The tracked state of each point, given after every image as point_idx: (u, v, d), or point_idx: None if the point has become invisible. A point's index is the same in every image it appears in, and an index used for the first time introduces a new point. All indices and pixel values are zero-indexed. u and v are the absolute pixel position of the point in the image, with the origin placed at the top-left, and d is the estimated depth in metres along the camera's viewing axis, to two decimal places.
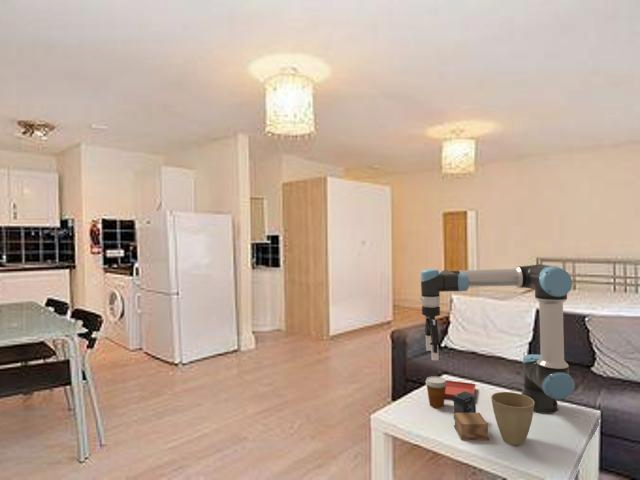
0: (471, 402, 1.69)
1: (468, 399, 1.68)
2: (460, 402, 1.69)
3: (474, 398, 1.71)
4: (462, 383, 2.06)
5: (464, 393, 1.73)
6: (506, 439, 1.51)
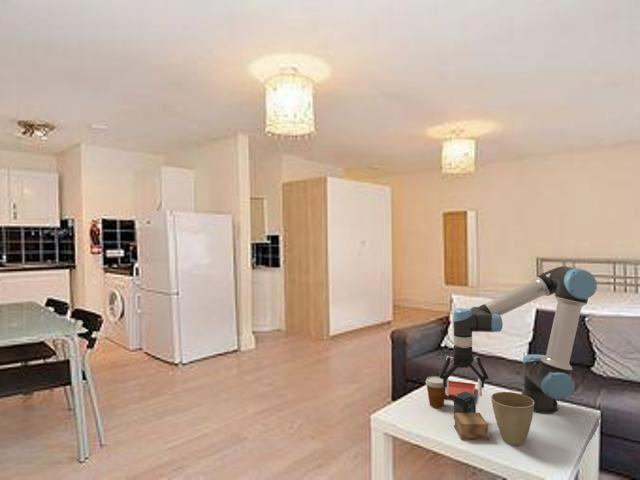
0: (471, 402, 1.69)
1: (468, 399, 1.68)
2: (460, 402, 1.69)
3: (474, 398, 1.71)
4: (462, 383, 2.06)
5: (464, 393, 1.73)
6: (506, 439, 1.51)
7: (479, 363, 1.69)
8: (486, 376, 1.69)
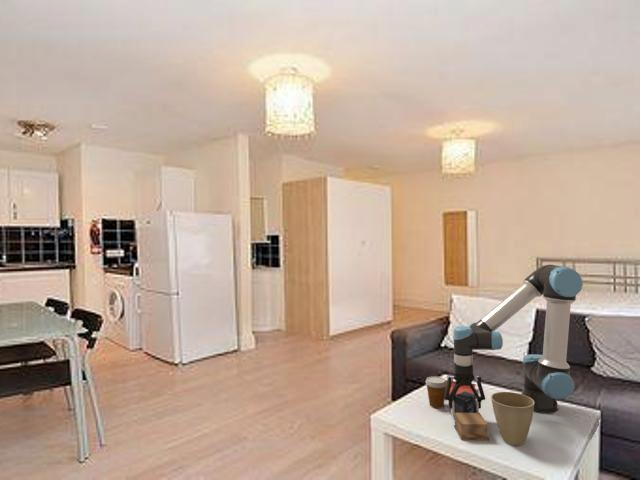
0: (471, 402, 1.69)
1: (468, 399, 1.68)
2: (460, 402, 1.69)
3: (474, 398, 1.71)
4: None
5: (464, 393, 1.73)
6: (506, 439, 1.51)
7: (479, 383, 1.70)
8: (483, 397, 1.69)
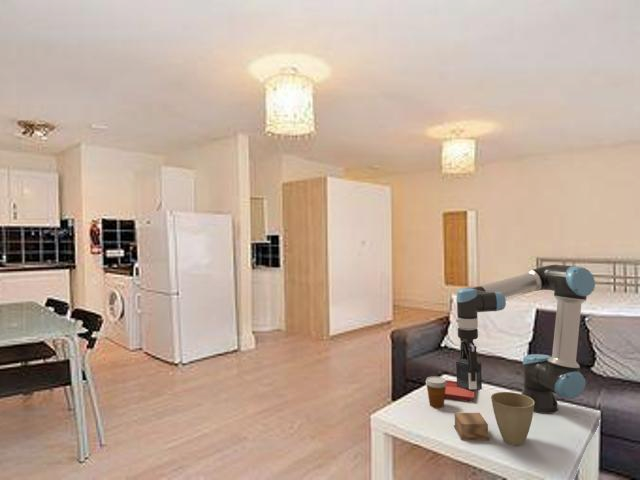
0: None
1: None
2: (478, 368, 1.57)
3: None
4: None
5: (464, 361, 1.60)
6: (506, 439, 1.51)
7: None
8: None
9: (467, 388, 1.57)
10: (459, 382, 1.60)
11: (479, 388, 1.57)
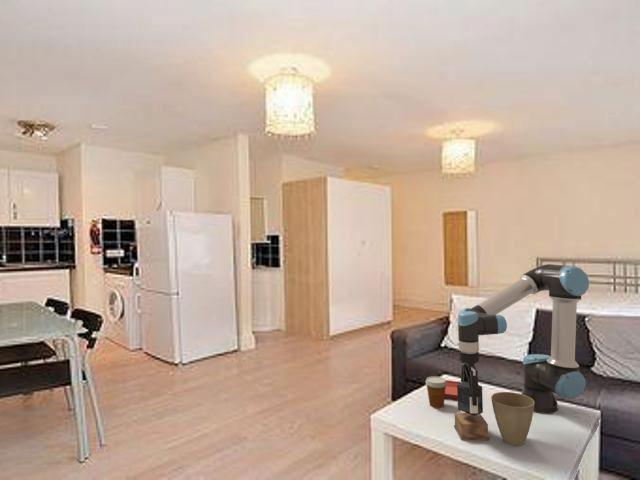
0: None
1: None
2: (479, 392, 1.56)
3: None
4: None
5: (465, 384, 1.60)
6: (506, 439, 1.51)
7: None
8: None
9: (468, 412, 1.57)
10: (460, 405, 1.60)
11: (480, 412, 1.57)
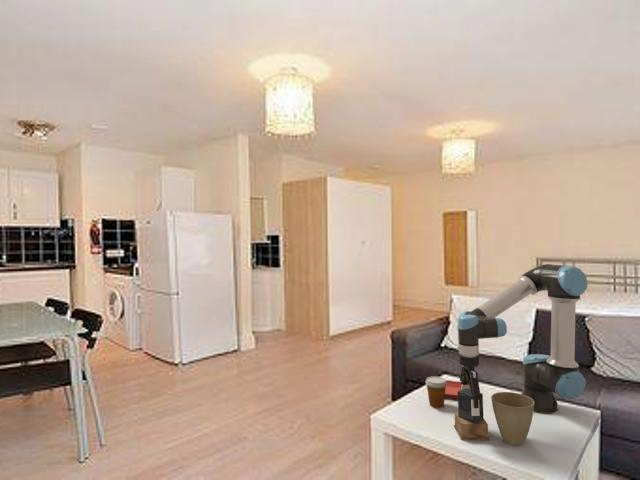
0: None
1: None
2: None
3: None
4: None
5: (465, 391, 1.60)
6: (506, 439, 1.51)
7: None
8: None
9: (469, 419, 1.57)
10: (460, 413, 1.60)
11: (481, 419, 1.57)
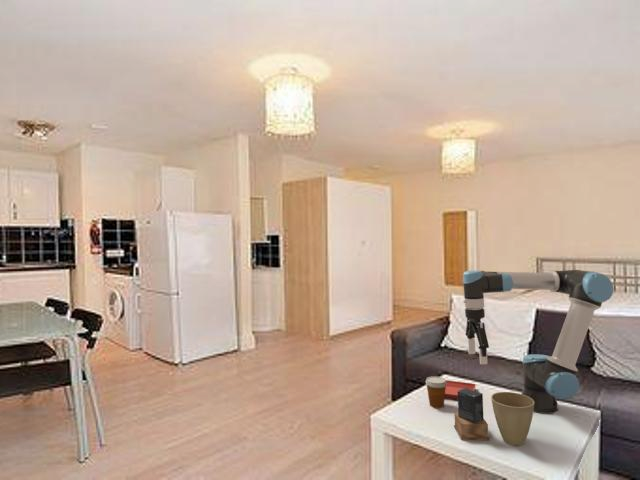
0: None
1: None
2: (479, 399, 1.56)
3: None
4: (462, 383, 2.06)
5: (465, 391, 1.60)
6: (506, 439, 1.51)
7: None
8: None
9: (469, 419, 1.57)
10: (460, 413, 1.60)
11: (481, 419, 1.57)
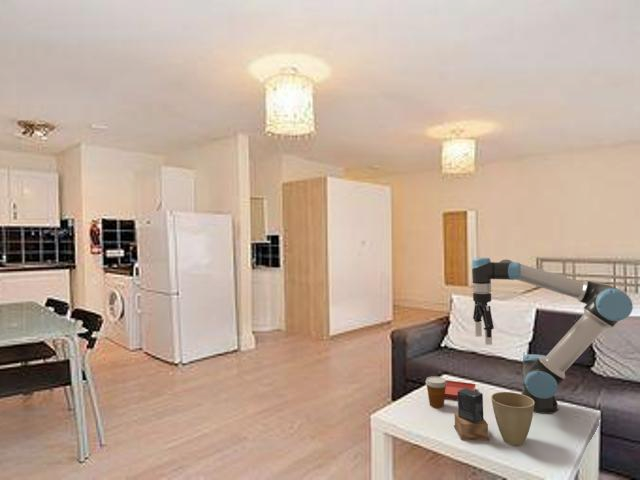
0: None
1: None
2: (479, 399, 1.56)
3: None
4: (462, 383, 2.06)
5: (465, 391, 1.60)
6: (506, 439, 1.51)
7: None
8: None
9: (469, 419, 1.57)
10: (460, 413, 1.60)
11: (481, 419, 1.57)
